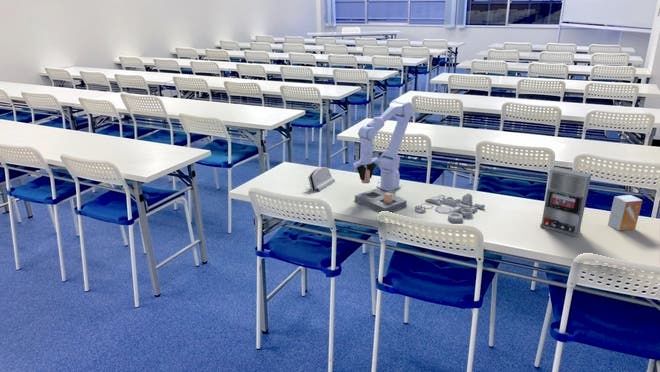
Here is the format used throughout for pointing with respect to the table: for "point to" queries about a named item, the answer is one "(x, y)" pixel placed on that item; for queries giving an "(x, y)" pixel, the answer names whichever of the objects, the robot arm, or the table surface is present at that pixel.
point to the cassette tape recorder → (565, 200)
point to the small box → (625, 212)
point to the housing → (379, 200)
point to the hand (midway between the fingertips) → (365, 178)
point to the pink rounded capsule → (366, 176)
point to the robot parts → (454, 213)
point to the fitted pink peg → (388, 198)
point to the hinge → (320, 179)
